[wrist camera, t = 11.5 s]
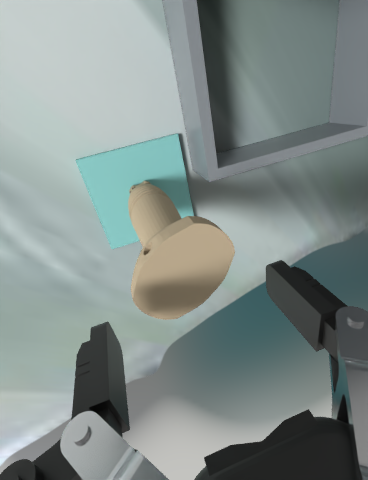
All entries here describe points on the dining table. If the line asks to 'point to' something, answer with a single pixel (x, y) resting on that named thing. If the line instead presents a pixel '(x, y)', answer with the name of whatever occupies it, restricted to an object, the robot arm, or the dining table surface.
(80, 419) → the robot arm
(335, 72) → the case
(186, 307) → the handle
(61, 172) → the dining table surface
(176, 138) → the pad
